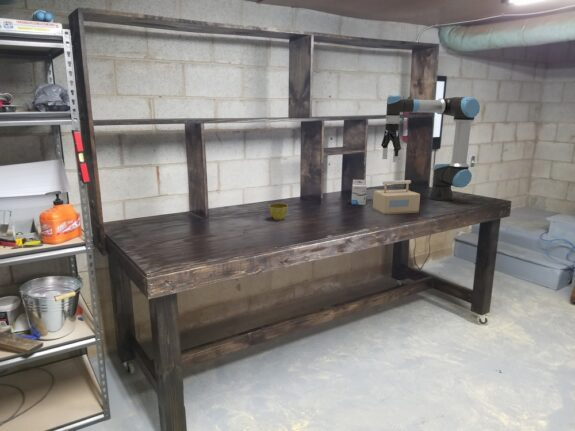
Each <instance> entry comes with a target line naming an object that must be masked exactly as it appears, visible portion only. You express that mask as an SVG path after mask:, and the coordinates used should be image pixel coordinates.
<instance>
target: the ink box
mask: <svg viewBox="0 0 575 431" xmlns="http://www.w3.org/2000/svg"><path fill="white" fill-rule="evenodd" d="M367 187H368V186H367V180H366V179H352V185H351V200H350V203H351V205H357V206H359V205H361V206H365V205H366V203H367V201H366V200H367V199H366V198H367Z"/></svg>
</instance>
